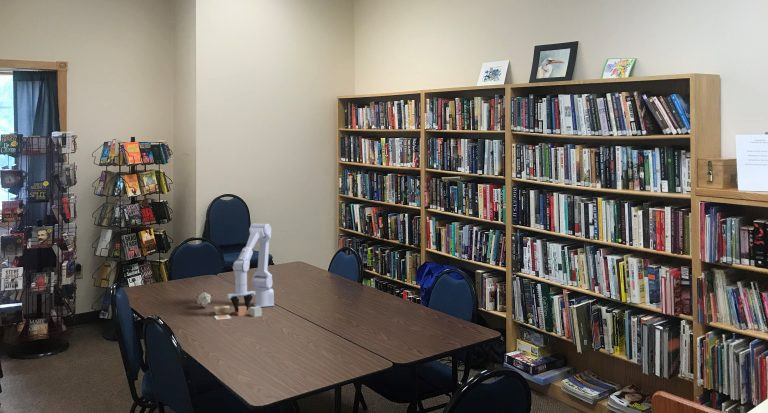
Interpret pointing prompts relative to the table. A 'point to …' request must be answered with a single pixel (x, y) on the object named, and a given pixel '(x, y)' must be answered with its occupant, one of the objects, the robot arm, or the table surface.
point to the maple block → (222, 310)
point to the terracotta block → (242, 310)
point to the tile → (222, 317)
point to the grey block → (255, 311)
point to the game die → (204, 299)
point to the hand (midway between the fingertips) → (241, 310)
